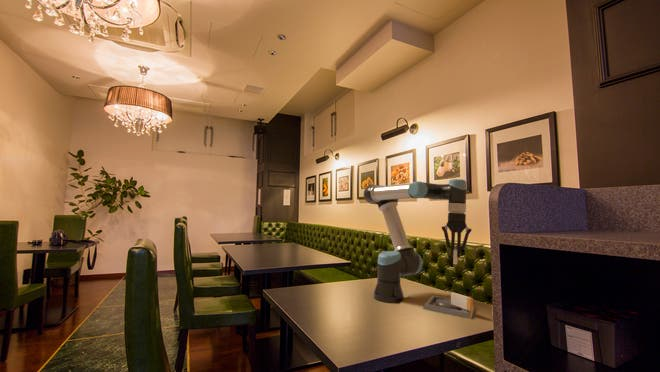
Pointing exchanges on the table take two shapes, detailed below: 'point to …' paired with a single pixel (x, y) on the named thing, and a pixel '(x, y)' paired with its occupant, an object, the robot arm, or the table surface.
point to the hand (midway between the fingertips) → (455, 263)
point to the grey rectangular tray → (432, 307)
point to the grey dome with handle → (456, 302)
